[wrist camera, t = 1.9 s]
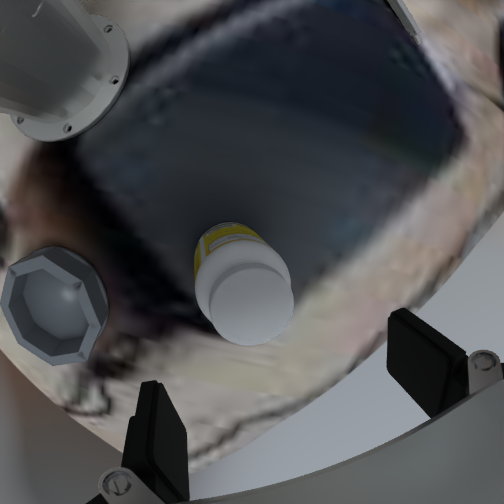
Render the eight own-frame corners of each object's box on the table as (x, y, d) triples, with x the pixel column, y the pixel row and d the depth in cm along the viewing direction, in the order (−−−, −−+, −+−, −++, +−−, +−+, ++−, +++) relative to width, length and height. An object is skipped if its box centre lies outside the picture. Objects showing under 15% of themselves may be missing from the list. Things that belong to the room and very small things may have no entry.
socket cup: (6, 260, 23) (-14, 272, 19) (87, 233, 24) (72, 243, 20) (44, 350, 26) (31, 370, 22) (124, 335, 27) (117, 357, 23)
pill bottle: (236, 301, 28) (261, 373, 17) (180, 264, 26) (172, 324, 16) (277, 247, 27) (328, 295, 17) (222, 206, 26) (242, 230, 15)
